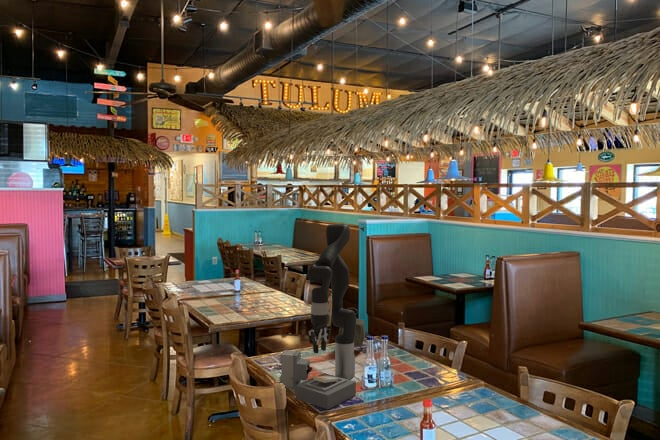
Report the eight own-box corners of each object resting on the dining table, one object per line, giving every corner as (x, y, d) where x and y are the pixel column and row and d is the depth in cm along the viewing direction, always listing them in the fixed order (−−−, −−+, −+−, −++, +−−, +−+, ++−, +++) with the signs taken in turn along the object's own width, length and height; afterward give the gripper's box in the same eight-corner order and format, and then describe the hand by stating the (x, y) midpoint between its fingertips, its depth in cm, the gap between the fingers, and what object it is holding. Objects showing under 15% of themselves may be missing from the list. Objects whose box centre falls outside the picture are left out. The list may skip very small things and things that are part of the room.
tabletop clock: (365, 349, 294) (365, 306, 293) (363, 353, 285) (363, 310, 284) (340, 347, 297) (340, 305, 296) (338, 352, 288) (338, 308, 287)
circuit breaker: (309, 388, 232) (309, 356, 231) (279, 386, 234) (279, 354, 234) (313, 383, 239) (313, 351, 238) (284, 380, 242) (284, 349, 241)
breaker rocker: (327, 378, 227) (327, 375, 228) (338, 381, 224) (338, 378, 224) (313, 379, 220) (313, 376, 220) (324, 382, 216) (324, 379, 216)
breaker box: (324, 385, 235) (324, 371, 235) (355, 395, 224) (355, 379, 224) (295, 398, 220) (295, 383, 219) (328, 409, 209) (328, 393, 208)
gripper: (323, 308, 225) (323, 346, 226) (302, 314, 214) (302, 353, 214) (336, 310, 220) (336, 349, 221) (315, 316, 209) (315, 357, 210)
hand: (319, 351), depth 218 cm, fingers open, 4 cm apart
